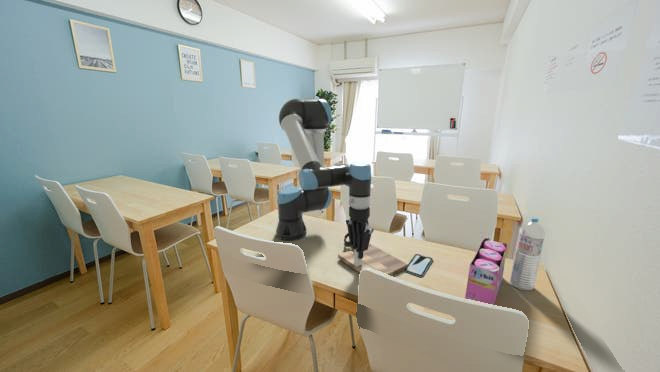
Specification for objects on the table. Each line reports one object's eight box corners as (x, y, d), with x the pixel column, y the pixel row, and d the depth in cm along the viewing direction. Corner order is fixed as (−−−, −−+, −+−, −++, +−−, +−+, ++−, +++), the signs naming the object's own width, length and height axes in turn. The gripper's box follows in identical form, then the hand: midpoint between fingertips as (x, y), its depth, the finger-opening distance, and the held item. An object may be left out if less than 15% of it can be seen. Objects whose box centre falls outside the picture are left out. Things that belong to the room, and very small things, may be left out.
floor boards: (356, 252, 117) (356, 249, 116) (369, 246, 121) (369, 243, 121) (393, 275, 100) (393, 271, 100) (407, 267, 105) (407, 264, 104)
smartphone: (402, 270, 103) (415, 253, 114) (402, 273, 103) (415, 255, 114) (422, 277, 98) (433, 258, 110) (422, 279, 99) (433, 260, 110)
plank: (337, 257, 111) (338, 254, 111) (356, 252, 117) (356, 248, 116) (374, 282, 94) (374, 278, 94) (393, 275, 100) (393, 271, 100)
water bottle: (505, 280, 97) (517, 215, 90) (522, 278, 97) (536, 214, 91) (519, 292, 90) (533, 223, 83) (538, 291, 91) (554, 222, 84)
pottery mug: (368, 252, 118) (360, 239, 114) (349, 259, 120) (340, 246, 117) (366, 234, 128) (359, 222, 125) (349, 240, 131) (341, 229, 127)
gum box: (479, 268, 104) (484, 236, 101) (503, 275, 99) (509, 242, 96) (463, 301, 86) (469, 263, 83) (492, 312, 82) (499, 273, 78)
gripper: (340, 203, 100) (339, 260, 106) (364, 213, 90) (362, 276, 96) (355, 199, 104) (354, 254, 110) (380, 208, 94) (377, 269, 100)
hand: (358, 264), depth 103 cm, fingers closed
